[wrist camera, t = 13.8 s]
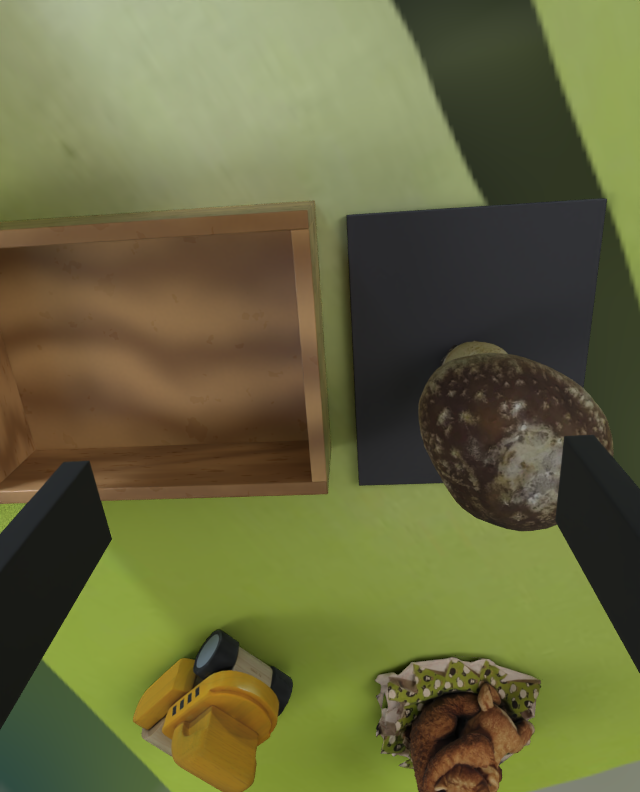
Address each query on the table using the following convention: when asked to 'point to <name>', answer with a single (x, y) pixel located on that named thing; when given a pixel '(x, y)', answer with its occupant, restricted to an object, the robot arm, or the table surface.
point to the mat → (460, 308)
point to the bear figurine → (456, 721)
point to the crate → (165, 353)
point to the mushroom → (504, 432)
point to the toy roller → (215, 712)
